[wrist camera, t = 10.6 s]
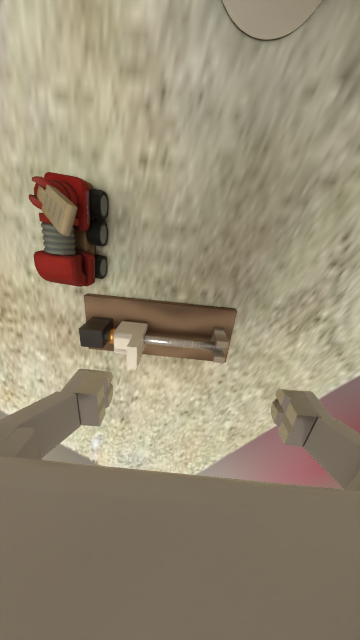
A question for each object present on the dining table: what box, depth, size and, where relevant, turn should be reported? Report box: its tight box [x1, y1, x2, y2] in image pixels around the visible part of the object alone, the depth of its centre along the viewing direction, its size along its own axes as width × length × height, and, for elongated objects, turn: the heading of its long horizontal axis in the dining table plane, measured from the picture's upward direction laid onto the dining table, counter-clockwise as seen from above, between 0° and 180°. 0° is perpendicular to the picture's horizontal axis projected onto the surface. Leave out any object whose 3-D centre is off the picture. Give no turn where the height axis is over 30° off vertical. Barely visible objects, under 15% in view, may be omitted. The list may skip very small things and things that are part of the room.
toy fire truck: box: [29, 172, 108, 286], centre depth 29 cm, size 11×16×18 cm
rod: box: [79, 316, 225, 352], centre depth 39 cm, size 4×26×6 cm, turn 85°
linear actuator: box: [84, 294, 237, 363], centre depth 40 cm, size 12×30×8 cm, turn 85°
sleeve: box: [114, 321, 147, 370], centre depth 36 cm, size 4×5×9 cm
